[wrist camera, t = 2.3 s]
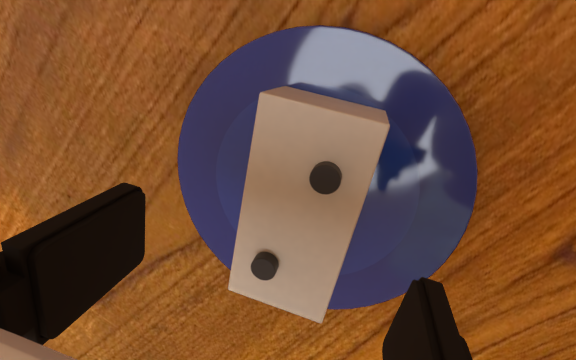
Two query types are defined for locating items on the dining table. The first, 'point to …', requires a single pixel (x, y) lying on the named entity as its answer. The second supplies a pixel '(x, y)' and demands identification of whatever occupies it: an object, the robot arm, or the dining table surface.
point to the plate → (389, 171)
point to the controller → (303, 197)
